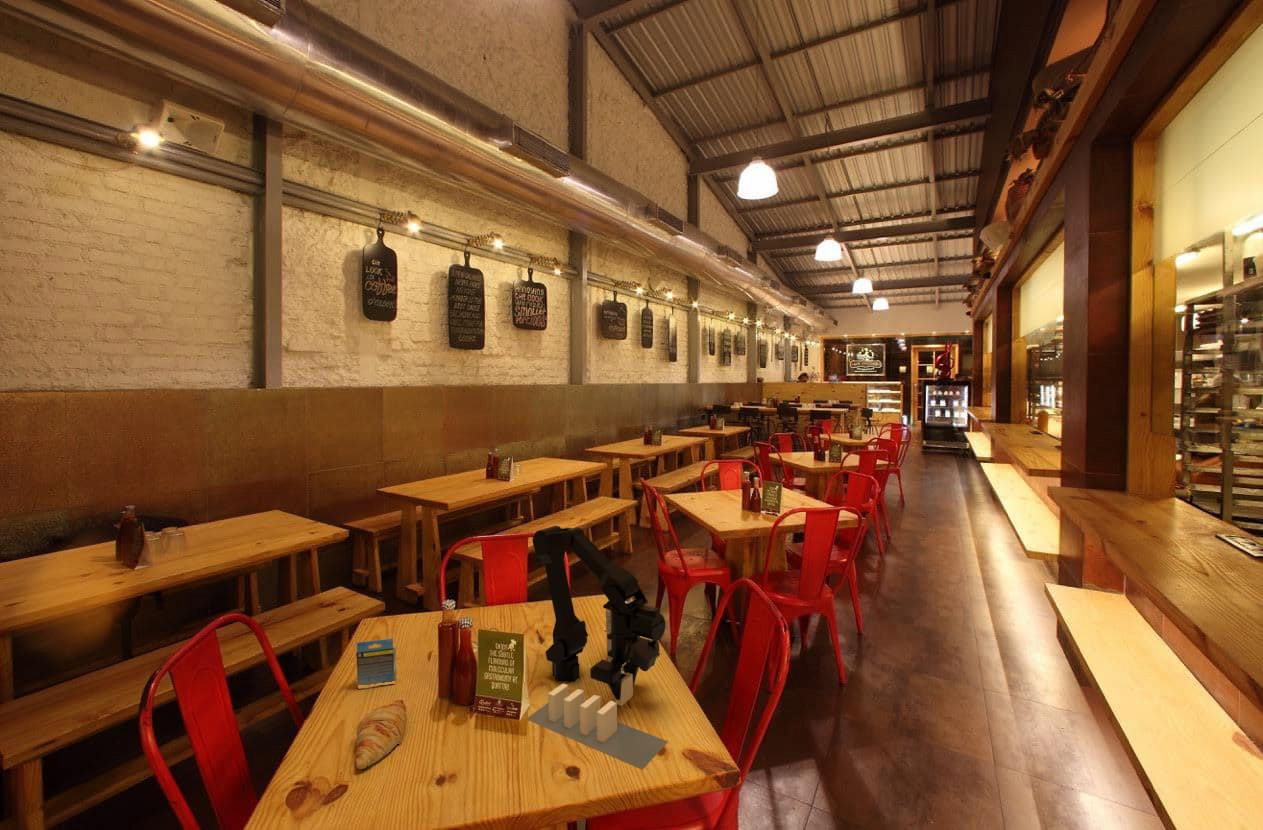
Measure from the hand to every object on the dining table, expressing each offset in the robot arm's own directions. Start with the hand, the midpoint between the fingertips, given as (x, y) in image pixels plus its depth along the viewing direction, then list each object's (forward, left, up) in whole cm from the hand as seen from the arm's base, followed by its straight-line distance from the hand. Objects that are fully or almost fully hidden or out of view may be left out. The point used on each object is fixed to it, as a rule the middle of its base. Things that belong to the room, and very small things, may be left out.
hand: (624, 694), depth 129 cm
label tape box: (-59, -26, -3) cm, 65 cm away
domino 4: (+5, -13, -1) cm, 14 cm away
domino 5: (0, 0, -2) cm, 2 cm away
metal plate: (+1, -13, -2) cm, 13 cm away
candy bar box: (-13, +17, -3) cm, 22 cm away
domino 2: (-4, -13, -1) cm, 14 cm away
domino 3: (0, -13, -1) cm, 13 cm away
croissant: (-37, -39, -3) cm, 54 cm away
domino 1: (-9, -13, -1) cm, 16 cm away
